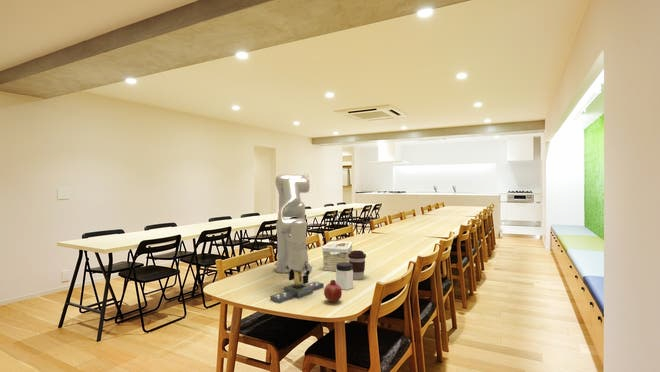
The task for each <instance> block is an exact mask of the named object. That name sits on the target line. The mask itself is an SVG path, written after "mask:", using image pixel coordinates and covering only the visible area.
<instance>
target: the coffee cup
mask: <svg viewBox="0 0 660 372" xmlns="http://www.w3.org/2000/svg"><path fill="white" fill-rule="evenodd" d="M348 257H349V259H350V260H349V263H351V264H352V270H353V280H356V281H359V280H363V279H364V277H365V268H366V267H365V266H366V260H365V259H366V258H367V254H366V253H364V251H362V250H352V251H351V253H350V254H348Z"/></svg>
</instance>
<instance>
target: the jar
mask: <svg viewBox="0 0 660 372" xmlns="http://www.w3.org/2000/svg"><path fill="white" fill-rule="evenodd" d="M335 281H336V284H337V285H339V286H340V288H341V291H342V290H344V291H347V290H351V289H354V279H353V270H352V264H351V263H347V262H342V263H337V269H336V271H335Z"/></svg>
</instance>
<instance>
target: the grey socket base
mask: <svg viewBox="0 0 660 372" xmlns="http://www.w3.org/2000/svg"><path fill="white" fill-rule="evenodd" d="M323 288H324V289H325V284H324V283H323V282H319V281H312V282H310V283H309V282H308V283H306V284H303V288H300V289H296V288H294V283H293V284H288V285H286V286H283V291H280V292H277V293H276V294H273V295H270V298H269V299H270V300H269V301H271V302H274V303H277V304H281V303H284V302H287V301H290V300H292V299H295V298H296V299H301V298H303V297H307V296H308V295H311V294H314V292H315V291H317V290H320V289H323Z"/></svg>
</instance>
